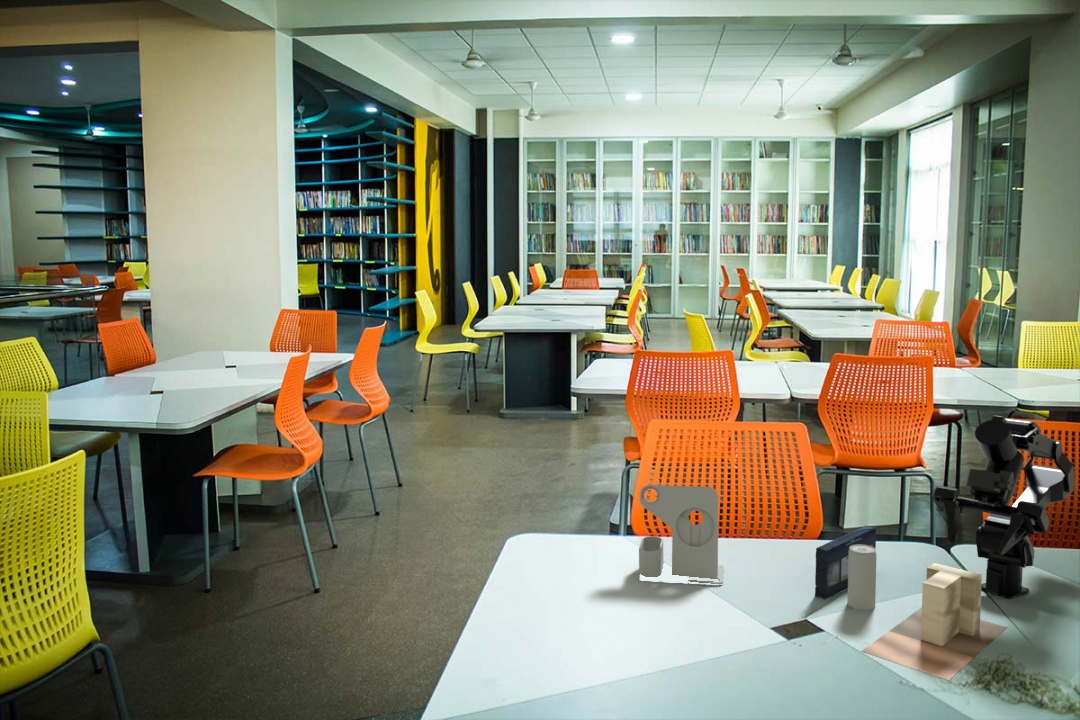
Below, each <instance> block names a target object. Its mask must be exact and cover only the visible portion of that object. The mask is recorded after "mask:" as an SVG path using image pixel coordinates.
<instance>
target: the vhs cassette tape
mask: <svg viewBox="0 0 1080 720" xmlns="http://www.w3.org/2000/svg"><path fill="white" fill-rule="evenodd" d="M876 539H877V528H876V527H874V526H870V525H863V526H862V527H859V528H857V529H855V530H852V531H851V532H848V533H846V534H844V535H843V536H839V537H837V538H835V539H833V540H830V541H829V542H827V543H824V544H823V545H820V546H818V547H816V549H815V573H814V575H815V577H814V578H815V579H814V581H815V583H814V584H815V587H814V589H815V591H814V596H815V597H816V598H820V597H821V599H823V600H828V599H830V598H832V597H834V596H836V595H838V594H840V593H842V592H844V591H846V590H848V558H849V550H850V549H849V547H850V546H852V545H856V544H862V545H869V546H872V547H874V548H875V549H876V546H877V540H876ZM845 589H846V590H845ZM843 590H844V591H843ZM841 591H842V592H841ZM839 592H840V593H839ZM837 593H838V594H837ZM835 594H836V595H835ZM831 596H832V597H831ZM829 597H830V598H829ZM827 598H828V599H827Z"/></svg>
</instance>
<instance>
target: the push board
mask: <svg viewBox="0 0 1080 720" xmlns="http://www.w3.org/2000/svg"><path fill="white" fill-rule="evenodd" d="M921 623H922V606H921V607H919V608H918V609H917V610H916V611H914V612H913V613H911V614H910V615H909V616H908V617H906V618H905V619H903V620H902V621H901V622H899V623H897V624H896V625H895V626H894V627H893V628H891V629H889V630H888V631H887V632H886V633H884V634H883V635H881V636H880V637H878V638H877V639H876V640H875V641H873V642H872V643H869V645H867V646H866V647H865V648H864V649H862V650H861V652H862V653H865V654H867V655H871V656H874V657H877V658H880V659H883V660H886V661H889V662H892V663H895V664H898V665H901V666H904V667H906V668H910V669H913V670H915V671H919V672H922V673H925V674H928V675H930V676H934V677H935V678H936V677H937V678H940V679H942V680H946V681H950V680H952V678H954V677H955V675H957V674H959V672H960V671H962V670H963V669H964V667H966V666H967V665H968V664H969V663H970V662H972V660H973V659H974V658H976V657H977V656H978V655H979V654H980V653H982V651H983V650H984V649H986V648H987V647H988V646H989V645H990V644H991V643H992V642H994V641H995V640H996V639H997V638H998V637H999V636H1000V635H1001V634H1002V633H1003V632H1004V631H1006V630H1007V629H1008V626H1004V625H1001V624H997V623H994V622H990V621H986V620H983V619H980V630H979V631H978V632H977V633H976V634H975V635H974V636H971V635H967V634H964V633H960V632H959V633H957V634H956V635H955V636H954V637H952V638H951V639H950V640H949V641H948V642H946V643H945V644H944V645H943V646H941V645H937V644H934V643H931V642H928V641H924V640H921Z"/></svg>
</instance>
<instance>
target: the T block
mask: <svg viewBox="0 0 1080 720" xmlns="http://www.w3.org/2000/svg"><path fill="white" fill-rule="evenodd" d="M982 577H983V574H982V573H976V572H974V571H968V570H965V569H960V568H956V567H953V566H950V565H949V566H948V565H945V564H940V563H935V562H933V563H932V564H931V565H928V566H927V567H926V580H924V581H923V582H922V593H921V594H922V595H921V597H922V599H921V607H922V623H921V640H924V641H928V642H931V643H934V644H937V645H941V646H943V645H944V644H945V643H946V642H948V641H949V640H950V639H951V638H952V637H954V636H955V635H956V634H957V633H959V632H960V633H964V634H967V635H971V636H974V635H975V634H976V633H977V632H978V631H979V630H980V620H981V604H982V589H981V584H983V583H982V580H983V578H982Z"/></svg>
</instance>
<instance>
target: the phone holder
mask: <svg viewBox="0 0 1080 720" xmlns="http://www.w3.org/2000/svg"><path fill="white" fill-rule="evenodd" d="M651 489H652V490H653V491H655V492H656V494H657V497H656V498H655V500H653V501H648V500H647V499H646V498H645V494H646V492H647V491H648V490H651ZM638 498H639V499H638V500H639V504H640V505H641V506H642V507H643V508H644V509H646V510H647V511H648V512H650V513H652V514H653V516H655V517H656V518H658V519H659V520H660V521H661V522H662V523H664V524H665V525H667V527H669V528H670V530H671V531H672V532H671V533H672V535H671V536H672V541H671V544H672V545H671V549H672V550H671V562H672V575H679V576H689V577H699V578H710V579H718V580H719V582H714V581H697V580H688V581H690V582H699V583H711V584H722V583H723V584H724V577H723V575H724V574H725V568H724V566H723V565H721V564H719V494H718V492H717V490H716V489H714V487H711V486H700V485H699V486H698V485H697V486H696V485H670V484H669V485H667V484H666V485H665V484H663V485H662V484H646V485H644V486H643V487H642V488H641V489H640V491H639V497H638ZM693 512H698V513H700V514H701V516H702V520H701V521H700V523H697V524H694V523H692V522H691V521H690V517H689V516H690V515H691V513H693ZM664 562H665V561H664V540H663V538H662V537H660V536H652V535H651V536H645V537H643V538H642V539H641V541H640V544H639V547H638V574H639V573H640V574H641V575H643V576H645V577H658V576H660V575H661V573H662V569H663V564H664ZM718 565H719V567H718Z"/></svg>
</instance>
